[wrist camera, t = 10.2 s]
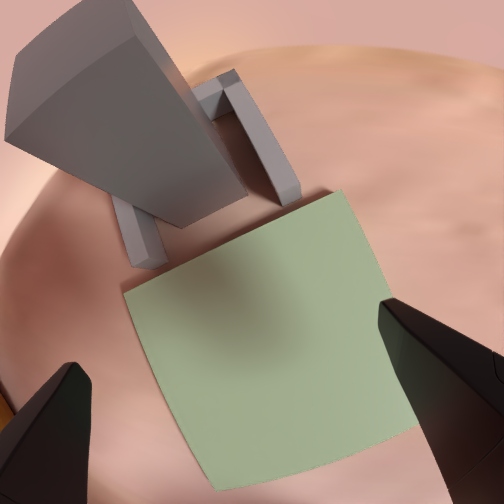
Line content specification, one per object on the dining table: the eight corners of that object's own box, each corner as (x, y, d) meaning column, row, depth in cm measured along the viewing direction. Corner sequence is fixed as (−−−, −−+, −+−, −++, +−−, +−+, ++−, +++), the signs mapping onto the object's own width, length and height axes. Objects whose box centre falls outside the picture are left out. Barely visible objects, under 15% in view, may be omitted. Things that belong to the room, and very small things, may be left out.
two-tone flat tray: (429, 409, 14) (443, 424, 12) (220, 483, 16) (208, 504, 14) (269, 79, 19) (264, 56, 16) (97, 172, 20) (77, 161, 18)
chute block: (248, 195, 18) (136, 35, 5) (181, 228, 19) (4, 140, 6) (220, 136, 19) (116, -22, 6) (159, 169, 19) (15, 55, 7)
